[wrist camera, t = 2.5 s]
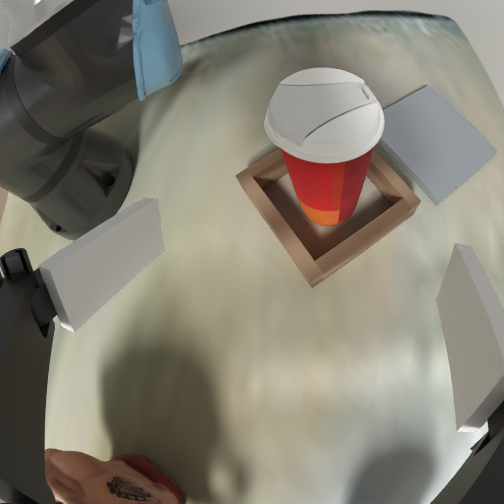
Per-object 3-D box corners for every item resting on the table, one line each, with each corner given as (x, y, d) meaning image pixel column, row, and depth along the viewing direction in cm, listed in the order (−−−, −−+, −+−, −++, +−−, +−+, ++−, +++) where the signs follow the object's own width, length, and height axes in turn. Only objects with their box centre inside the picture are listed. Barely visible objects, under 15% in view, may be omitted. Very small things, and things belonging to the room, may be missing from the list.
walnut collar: (243, 189, 32) (235, 175, 29) (337, 131, 32) (336, 114, 29) (312, 287, 28) (310, 281, 25) (413, 214, 27) (421, 201, 25)
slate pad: (362, 127, 31) (362, 121, 30) (426, 90, 31) (428, 85, 30) (436, 206, 27) (439, 201, 26) (494, 156, 27) (497, 151, 26)
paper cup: (350, 159, 31) (354, 54, 18) (377, 224, 28) (409, 133, 15) (279, 179, 32) (247, 80, 19) (300, 247, 29) (278, 166, 16)
